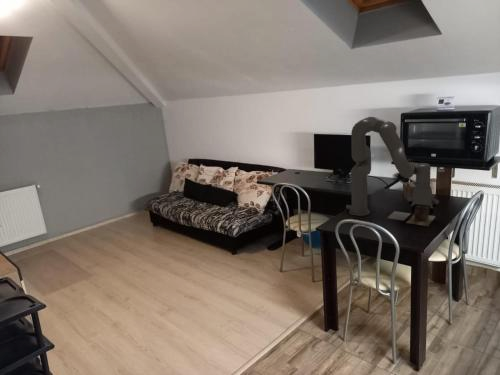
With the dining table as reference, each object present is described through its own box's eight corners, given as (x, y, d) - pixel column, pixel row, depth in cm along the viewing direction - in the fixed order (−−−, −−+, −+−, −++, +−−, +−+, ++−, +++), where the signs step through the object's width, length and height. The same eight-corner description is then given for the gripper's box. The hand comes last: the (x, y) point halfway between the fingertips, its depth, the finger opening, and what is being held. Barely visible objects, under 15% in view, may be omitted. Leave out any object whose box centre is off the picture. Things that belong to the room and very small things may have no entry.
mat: (386, 218, 232) (386, 218, 232) (394, 211, 242) (394, 211, 242) (403, 220, 225) (403, 220, 225) (410, 213, 236) (410, 213, 236)
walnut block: (414, 220, 225) (414, 208, 223) (417, 217, 229) (417, 205, 227) (425, 221, 221) (425, 210, 219) (427, 218, 226) (428, 207, 224)
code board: (405, 222, 222) (405, 222, 222) (414, 213, 236) (414, 213, 236) (428, 226, 215) (428, 226, 215) (435, 216, 228) (435, 216, 228)
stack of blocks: (402, 195, 273) (403, 178, 270) (411, 195, 272) (412, 178, 269) (410, 204, 253) (411, 186, 249) (420, 204, 252) (421, 186, 248)
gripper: (405, 185, 222) (405, 213, 226) (437, 187, 211) (436, 217, 216) (409, 182, 228) (408, 209, 232) (440, 184, 217) (440, 213, 221)
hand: (422, 213), depth 224 cm, fingers open, 9 cm apart
